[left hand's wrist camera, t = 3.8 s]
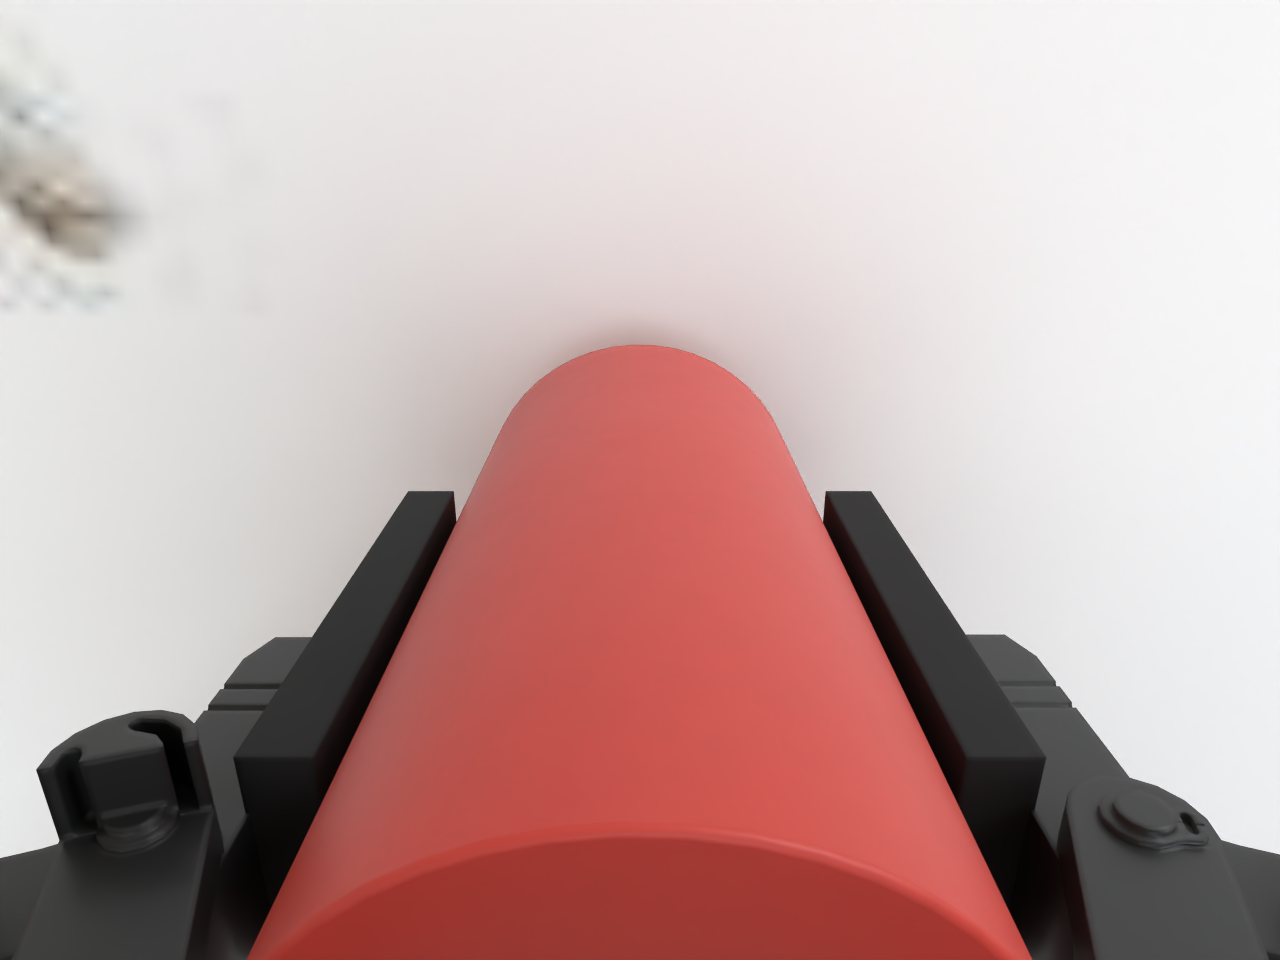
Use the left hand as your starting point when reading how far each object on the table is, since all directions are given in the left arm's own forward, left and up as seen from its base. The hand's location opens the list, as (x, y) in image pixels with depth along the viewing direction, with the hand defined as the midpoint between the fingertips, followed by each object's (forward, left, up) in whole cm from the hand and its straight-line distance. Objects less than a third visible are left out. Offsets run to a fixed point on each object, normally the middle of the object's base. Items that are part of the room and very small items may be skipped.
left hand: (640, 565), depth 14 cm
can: (0, 0, -3) cm, 3 cm away
